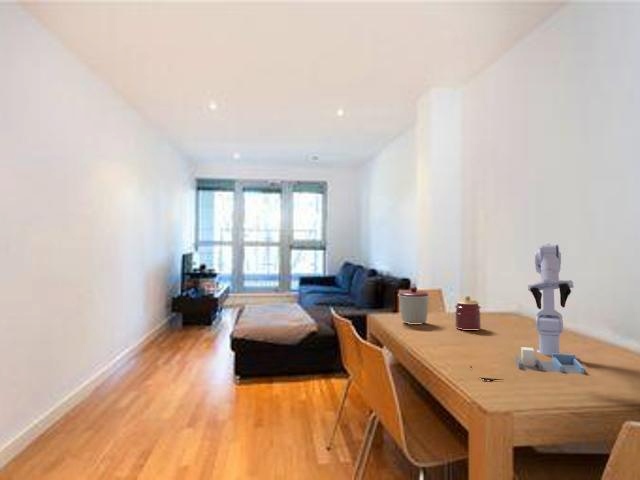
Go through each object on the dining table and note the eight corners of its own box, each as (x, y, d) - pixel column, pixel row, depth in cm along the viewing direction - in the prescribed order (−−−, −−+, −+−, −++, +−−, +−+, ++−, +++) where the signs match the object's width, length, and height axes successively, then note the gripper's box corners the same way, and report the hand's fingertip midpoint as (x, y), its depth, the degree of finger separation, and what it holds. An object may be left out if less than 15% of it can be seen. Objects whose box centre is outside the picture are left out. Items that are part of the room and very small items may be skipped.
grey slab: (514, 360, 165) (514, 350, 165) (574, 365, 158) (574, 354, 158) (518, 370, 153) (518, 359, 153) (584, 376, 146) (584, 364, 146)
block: (521, 362, 160) (521, 347, 160) (532, 363, 158) (532, 347, 158) (522, 365, 156) (522, 349, 156) (534, 366, 155) (534, 350, 155)
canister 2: (484, 331, 217) (484, 297, 217) (459, 331, 217) (459, 297, 217) (475, 326, 230) (475, 294, 230) (452, 326, 230) (451, 294, 230)
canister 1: (392, 322, 244) (391, 286, 244) (417, 319, 251) (416, 284, 251) (411, 328, 227) (410, 289, 227) (437, 324, 235) (436, 287, 235)
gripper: (524, 271, 156) (524, 303, 150) (567, 265, 146) (569, 300, 140) (532, 279, 160) (532, 312, 153) (574, 274, 150) (576, 309, 144)
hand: (550, 307), depth 147 cm, fingers open, 7 cm apart
